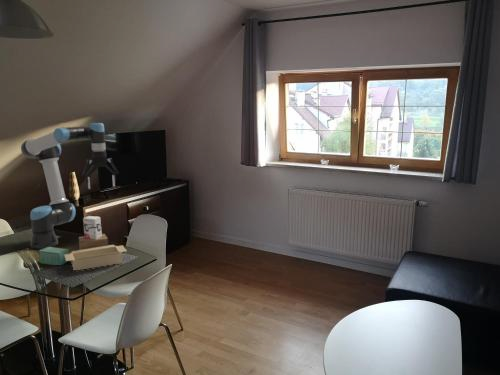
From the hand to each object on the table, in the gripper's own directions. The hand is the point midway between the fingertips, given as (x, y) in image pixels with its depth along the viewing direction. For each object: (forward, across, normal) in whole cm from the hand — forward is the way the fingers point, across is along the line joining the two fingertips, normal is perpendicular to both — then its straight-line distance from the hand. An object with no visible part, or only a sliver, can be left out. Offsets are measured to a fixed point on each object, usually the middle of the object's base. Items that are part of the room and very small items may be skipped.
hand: (101, 187), depth 239 cm
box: (+37, -28, -10) cm, 48 cm away
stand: (+37, -8, -8) cm, 38 cm away
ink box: (+27, -8, -8) cm, 29 cm away
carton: (+37, -9, -24) cm, 44 cm away
